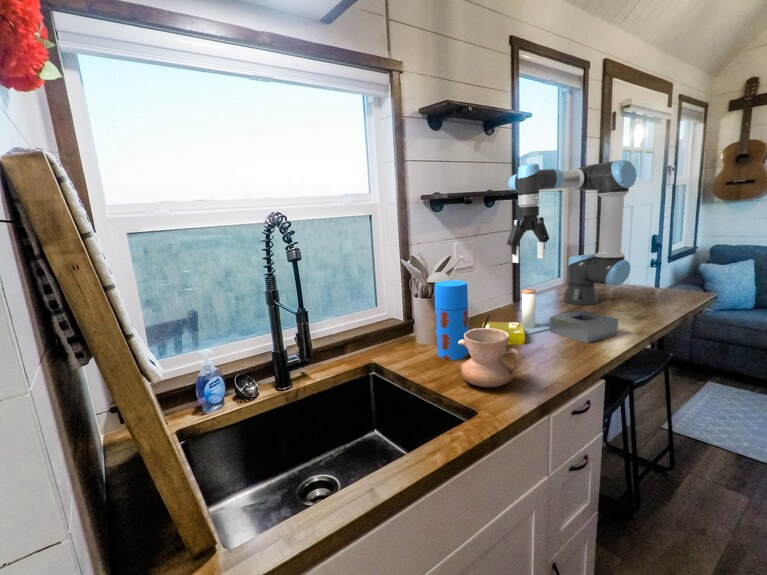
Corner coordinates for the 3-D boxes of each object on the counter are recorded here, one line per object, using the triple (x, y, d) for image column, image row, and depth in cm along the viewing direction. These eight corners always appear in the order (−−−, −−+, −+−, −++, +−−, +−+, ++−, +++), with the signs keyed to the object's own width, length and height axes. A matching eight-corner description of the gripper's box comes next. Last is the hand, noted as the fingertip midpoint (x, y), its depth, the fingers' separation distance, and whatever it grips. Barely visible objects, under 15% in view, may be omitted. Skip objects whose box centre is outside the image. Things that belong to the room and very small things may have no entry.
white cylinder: (528, 324, 156) (528, 288, 153) (538, 327, 152) (538, 290, 149) (519, 326, 154) (519, 290, 151) (528, 329, 150) (529, 292, 147)
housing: (578, 324, 154) (579, 310, 152) (617, 334, 139) (617, 318, 138) (549, 331, 147) (550, 316, 146) (587, 343, 133) (587, 326, 132)
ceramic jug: (448, 384, 109) (446, 336, 106) (471, 366, 120) (470, 323, 117) (510, 400, 98) (510, 348, 95) (529, 379, 109) (529, 331, 106)
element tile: (482, 331, 153) (482, 320, 153) (521, 332, 150) (521, 321, 149) (482, 344, 139) (481, 332, 138) (525, 346, 135) (525, 333, 134)
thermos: (460, 362, 123) (458, 287, 119) (431, 356, 130) (428, 285, 125) (474, 351, 132) (472, 281, 127) (446, 346, 138) (444, 279, 134)
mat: (528, 322, 161) (528, 320, 161) (551, 329, 150) (551, 327, 150) (506, 327, 156) (506, 325, 156) (528, 334, 145) (528, 333, 145)
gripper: (511, 207, 138) (512, 265, 142) (559, 203, 149) (558, 257, 153) (496, 208, 145) (497, 263, 149) (543, 204, 155) (543, 255, 160)
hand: (528, 260), depth 151 cm, fingers open, 13 cm apart
